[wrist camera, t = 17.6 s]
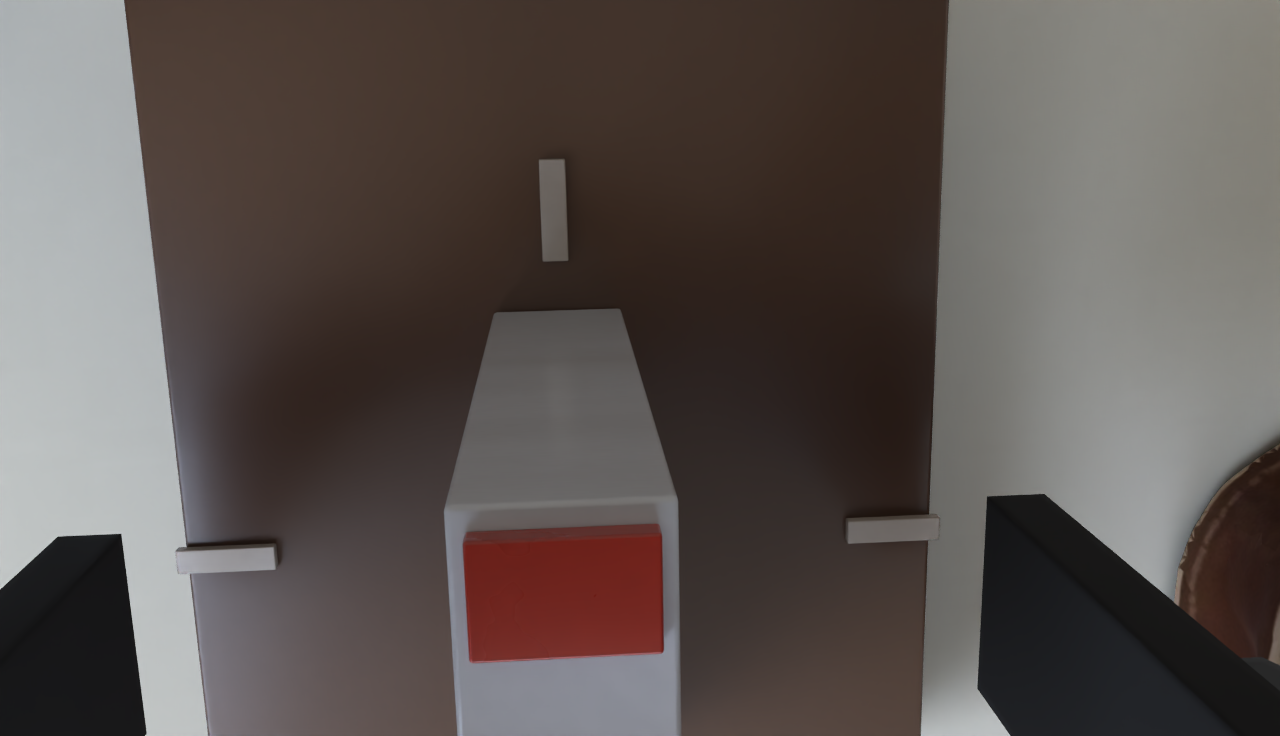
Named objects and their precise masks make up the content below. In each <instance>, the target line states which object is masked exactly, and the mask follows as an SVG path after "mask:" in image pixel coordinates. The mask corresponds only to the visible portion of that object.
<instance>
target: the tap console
mask: <svg viewBox="0 0 1280 736" xmlns="http://www.w3.org/2000/svg"><path fill="white" fill-rule="evenodd" d="M124 3H125V11H126V20H127V29H128V38H129V46H130V55H131V64H132V73H133V81H134V90H135V99H136V108H137V116H138V125H139V134H140V143H141V151H142V160H143V169H144V178H145V186H146V195H147V204H148V213H149V221H150V230H151V239H152V248H153V256H154V265H155V274H156V283H157V292H158V300H159V309H160V318H161V327H162V335H163V344H164V353H165V362H166V370H167V379H168V388H169V397H170V405H171V414H172V423H173V432H174V440H175V449H176V458H177V467H178V475H179V484H180V493H181V502H182V510H183V519H184V528H185V537H186V545H187V547H181V548H178V549H177V550H176V552H175V554H176V562H177V571H178V574H190V580H191V589H192V598H193V607H194V615H195V624H196V633H197V642H198V650H199V659H200V668H201V677H202V685H203V694H204V703H205V712H206V720H207V729H208V736H458V735H457V719H456V703H455V686H454V670H453V653H452V637H451V620H450V604H449V587H448V571H447V555H446V538H445V522H444V508H445V504H446V501H447V497H448V493H449V489H450V485H451V481H452V477H453V473H454V469H455V465H456V461H457V457H458V453H459V449H460V445H461V441H462V437H463V433H464V430H465V426H466V422H467V418H468V414H469V410H470V406H471V402H472V398H473V394H474V390H475V386H476V382H477V378H478V374H479V370H480V366H481V362H482V358H483V355H484V351H485V347H486V343H487V339H488V335H489V331H490V327H491V323H492V319H493V315H494V313H497V312H525V311H556V310H587V309H620V310H621V313H622V316H623V319H624V323H625V326H626V329H627V333H628V336H629V339H630V343H631V346H632V349H633V352H634V356H635V359H636V362H637V366H638V369H639V372H640V376H641V379H642V382H643V386H644V389H645V392H646V396H647V399H648V402H649V406H650V409H651V412H652V415H653V419H654V422H655V425H656V429H657V432H658V435H659V439H660V442H661V445H662V449H663V452H664V455H665V459H666V462H667V465H668V469H669V472H670V475H671V478H672V482H673V485H674V488H675V492H676V495H677V498H678V518H679V596H680V674H681V736H921V713H922V687H923V661H924V635H925V609H926V583H927V557H928V540H938V539H939V528H940V517H939V516H938V515H937V514H929V506H930V480H931V454H932V428H933V402H934V376H935V350H936V324H937V298H938V272H939V246H940V220H941V194H942V168H943V142H944V116H945V90H946V64H947V38H948V12H949V0H124Z"/></svg>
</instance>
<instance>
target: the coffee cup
mask: <svg viewBox="0 0 1280 736" xmlns="http://www.w3.org/2000/svg"><path fill="white" fill-rule="evenodd" d="M1174 603H1175V604H1177V605H1178V606H1179V607H1180V608H1181V609H1183V610H1184V611H1185V612H1186V613H1187V614H1188V615H1190V616H1191V617H1192V618H1193V619H1194V620H1196V621H1197V622H1198V623H1199V624H1200V625H1202V626H1203V627H1204V628H1205V629H1206V630H1208V631H1209V632H1210V633H1211V634H1212V635H1214V636H1215V637H1216V638H1217V639H1218V640H1220V641H1221V642H1222V643H1223V644H1224V645H1226V646H1227V647H1228V648H1229V649H1230V650H1232V651H1233V652H1234V653H1235V654H1236V655H1238V656H1239V657H1240V658H1252V657H1263V658H1265V659H1267V660H1269V661H1271V662H1274V663H1276V664H1278V665H1280V444H1278V445H1277V446H1276V447H1274V448H1273V449H1271V450H1269V451H1268V452H1266V453H1264V454H1263V455H1261V456H1260V457H1259V458H1257V459H1256V460H1255V461H1253V462H1252V463H1251V464H1249V465H1248V466H1246V467H1245V468H1244V469H1243V470H1241V471H1240V472H1239V473H1237V474H1236V475H1234V476H1233V477H1232V478H1231V479H1230V480H1228V481H1227V482H1226V483H1225V484H1224V485H1223V486H1222V487H1221V488H1220V489H1219V491H1218V492H1217V493H1216V495H1215V496H1214V497H1213V499H1212V500H1211V501H1210V503H1209V504H1208V506H1207V508H1206V509H1205V511H1204V512H1203V514H1202V516H1201V518H1200V519H1199V521H1198V522H1197V524H1196V526H1195V527H1194V529H1193V532H1192V534H1191V536H1190V538H1189V541H1188V543H1187V545H1186V548H1185V551H1184V554H1183V557H1182V559H1181V562H1180V565H1179V567H1178V574H1177V582H1176V590H1175V599H1174Z"/></svg>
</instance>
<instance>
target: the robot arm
mask: <svg viewBox="0 0 1280 736" xmlns="http://www.w3.org/2000/svg"><path fill="white" fill-rule="evenodd" d="M978 690H979V691H980V693H981V694H982V696H983V697H984V698H985V700H986V701H987V703H988V704H989V706H990V707H991V708H992V710H993V711H994V713H995V714H996V716H997V717H998V718H999V720H1000V721H1001V723H1002V724H1003V725H1004V727H1005V728H1006V730H1007V731H1008V733H1009V734H1010V735H1011V736H1280V665H1278V664H1276V663H1274V662H1271V661H1269V660H1267V659H1265V658H1263V657H1252V658H1240V657H1239V656H1238V655H1236V654H1235V653H1234V652H1233V651H1232V650H1230V649H1229V648H1228V647H1227V646H1226V645H1224V644H1223V643H1222V642H1221V641H1220V640H1218V639H1217V638H1216V637H1215V636H1214V635H1212V634H1211V633H1210V632H1209V631H1208V630H1206V629H1205V628H1204V627H1203V626H1202V625H1200V624H1199V623H1198V622H1197V621H1196V620H1194V619H1193V618H1192V617H1191V616H1190V615H1188V614H1187V613H1186V612H1185V611H1184V610H1183V609H1181V608H1180V607H1179V606H1178V605H1177V604H1175V603H1174V602H1173V601H1172V600H1171V599H1169V598H1168V597H1167V596H1166V595H1165V594H1163V593H1162V592H1161V591H1160V590H1159V589H1157V588H1156V587H1155V586H1154V585H1153V584H1151V583H1150V582H1149V581H1148V580H1147V579H1145V578H1144V577H1143V576H1142V575H1141V574H1139V573H1138V572H1137V571H1136V570H1135V569H1133V568H1132V567H1131V566H1130V565H1129V564H1127V563H1126V562H1125V561H1124V560H1123V559H1121V558H1120V557H1119V556H1118V555H1117V554H1115V553H1114V552H1113V551H1112V550H1111V549H1109V548H1108V547H1107V546H1106V545H1105V544H1103V543H1102V542H1101V541H1100V540H1099V539H1097V538H1096V537H1095V536H1094V535H1093V534H1091V533H1090V532H1089V531H1088V530H1087V529H1086V528H1084V527H1083V526H1082V525H1081V524H1080V523H1078V522H1077V521H1076V520H1075V519H1074V518H1072V517H1071V516H1070V515H1069V514H1068V513H1066V512H1065V511H1064V510H1063V509H1062V508H1060V507H1059V506H1058V505H1057V504H1056V503H1054V502H1053V501H1052V500H1051V499H1050V498H1048V497H1047V496H1046V495H1045V494H1034V495H1011V496H987V509H986V529H985V549H984V569H983V589H982V609H981V628H980V648H979V668H978ZM145 735H146V725H145V718H144V710H143V702H142V694H141V686H140V678H139V671H138V663H137V655H136V647H135V639H134V631H133V624H132V616H131V608H130V600H129V592H128V584H127V576H126V569H125V561H124V553H123V545H122V537H121V534H110V535H87V536H64V537H57V538H56V539H55V540H54V541H53V542H52V543H51V544H50V545H48V546H47V547H46V548H45V549H44V550H43V551H42V552H41V553H40V554H39V555H38V556H36V557H35V558H34V559H33V560H32V561H31V562H30V563H29V564H28V565H27V566H26V567H25V568H23V569H22V570H21V571H20V572H19V573H18V574H17V575H16V576H15V577H14V578H13V579H11V580H10V581H9V582H8V583H7V584H6V585H5V586H4V587H3V588H2V589H1V590H0V736H145Z"/></svg>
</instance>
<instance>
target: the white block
mask: <svg viewBox="0 0 1280 736" xmlns="http://www.w3.org/2000/svg"><path fill="white" fill-rule="evenodd" d="M444 522H445V538H446V555H447V571H448V587H449V604H450V620H451V637H452V653H453V670H454V686H455V703H456V719H457V735H458V736H681V674H680V596H679V518H678V498H677V495H676V492H675V488H674V485H673V482H672V478H671V475H670V472H669V469H668V465H667V462H666V459H665V455H664V452H663V449H662V445H661V442H660V439H659V435H658V432H657V429H656V425H655V422H654V419H653V415H652V412H651V409H650V406H649V402H648V399H647V396H646V392H645V389H644V386H643V382H642V379H641V376H640V372H639V369H638V366H637V362H636V359H635V356H634V352H633V349H632V346H631V343H630V339H629V336H628V333H627V329H626V326H625V323H624V319H623V316H622V313H621V310H620V309H587V310H556V311H525V312H497V313H494V315H493V319H492V323H491V327H490V331H489V335H488V339H487V343H486V347H485V351H484V355H483V358H482V362H481V366H480V370H479V374H478V378H477V382H476V386H475V390H474V394H473V398H472V402H471V406H470V410H469V414H468V418H467V422H466V426H465V430H464V433H463V437H462V441H461V445H460V449H459V453H458V457H457V461H456V465H455V469H454V473H453V477H452V481H451V485H450V489H449V493H448V497H447V501H446V504H445V508H444Z"/></svg>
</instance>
